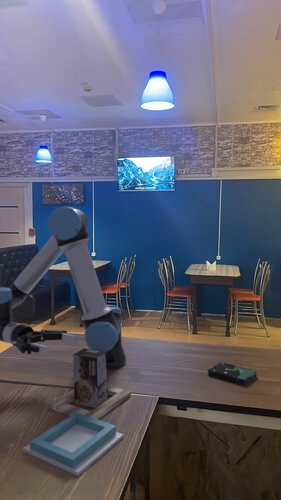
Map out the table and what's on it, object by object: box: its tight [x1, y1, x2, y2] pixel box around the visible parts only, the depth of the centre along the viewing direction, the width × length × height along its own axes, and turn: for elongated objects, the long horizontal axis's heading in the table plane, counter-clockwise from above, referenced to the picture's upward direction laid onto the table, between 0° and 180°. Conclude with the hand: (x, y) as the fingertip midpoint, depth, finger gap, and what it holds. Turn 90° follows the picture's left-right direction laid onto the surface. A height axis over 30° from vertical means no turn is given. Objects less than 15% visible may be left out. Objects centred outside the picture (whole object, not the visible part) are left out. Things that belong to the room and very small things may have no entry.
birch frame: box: [48, 385, 132, 420], centre depth 119 cm, size 17×20×2 cm
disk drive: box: [207, 362, 258, 387], centre depth 139 cm, size 10×3×15 cm
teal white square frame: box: [22, 412, 124, 477], centre depth 96 cm, size 18×18×3 cm
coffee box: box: [72, 348, 109, 409], centre depth 118 cm, size 9×6×16 cm
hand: (62, 345), depth 123 cm, fingers open, 13 cm apart
